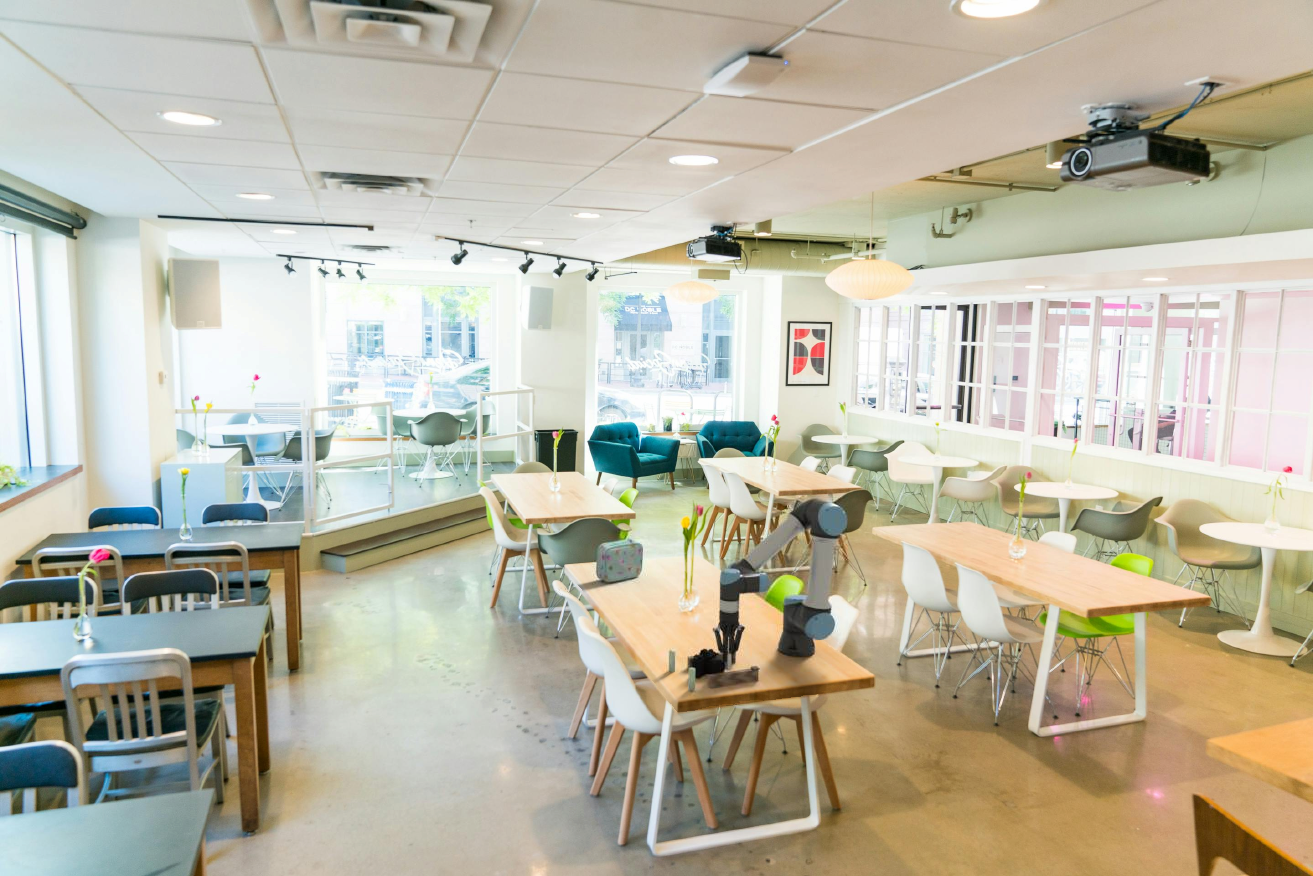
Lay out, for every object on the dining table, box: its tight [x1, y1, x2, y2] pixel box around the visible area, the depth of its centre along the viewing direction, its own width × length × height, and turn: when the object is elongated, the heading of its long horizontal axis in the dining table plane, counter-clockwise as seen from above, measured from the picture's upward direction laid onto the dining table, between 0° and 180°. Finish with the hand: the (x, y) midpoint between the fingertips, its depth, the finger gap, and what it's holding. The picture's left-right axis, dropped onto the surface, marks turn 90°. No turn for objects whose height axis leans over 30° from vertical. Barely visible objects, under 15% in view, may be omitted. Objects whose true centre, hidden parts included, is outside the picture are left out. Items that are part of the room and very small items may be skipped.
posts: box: [668, 649, 696, 692], centre depth 310 cm, size 2×21×8 cm, turn 22°
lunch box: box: [595, 538, 644, 584], centre depth 443 cm, size 27×10×21 cm, turn 130°
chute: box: [687, 651, 760, 689], centre depth 317 cm, size 20×21×5 cm
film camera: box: [692, 648, 726, 680], centre depth 316 cm, size 15×10×9 cm, turn 144°
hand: (727, 669), depth 318 cm, fingers closed
